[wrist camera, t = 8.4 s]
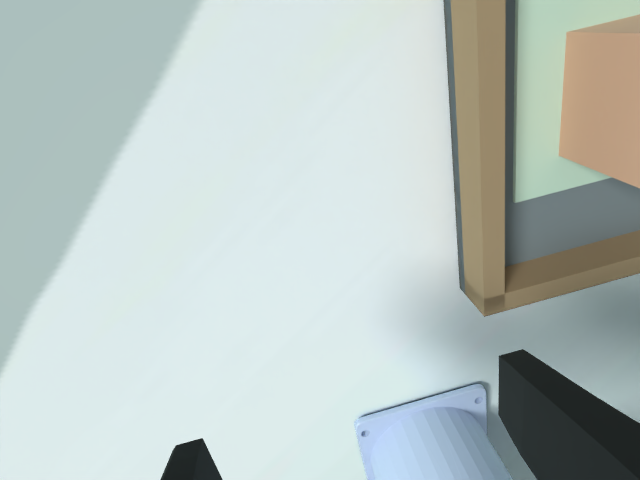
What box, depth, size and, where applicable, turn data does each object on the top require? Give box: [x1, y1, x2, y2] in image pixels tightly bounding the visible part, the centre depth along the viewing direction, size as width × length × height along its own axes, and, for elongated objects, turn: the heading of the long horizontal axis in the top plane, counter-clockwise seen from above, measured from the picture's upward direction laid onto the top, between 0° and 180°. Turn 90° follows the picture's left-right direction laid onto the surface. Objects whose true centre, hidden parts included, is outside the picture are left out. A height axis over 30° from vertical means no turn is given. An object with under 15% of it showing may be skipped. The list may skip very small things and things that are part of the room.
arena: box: [444, 0, 640, 317], centre depth 18 cm, size 16×14×2 cm
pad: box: [513, 0, 640, 203], centre depth 18 cm, size 9×9×1 cm
